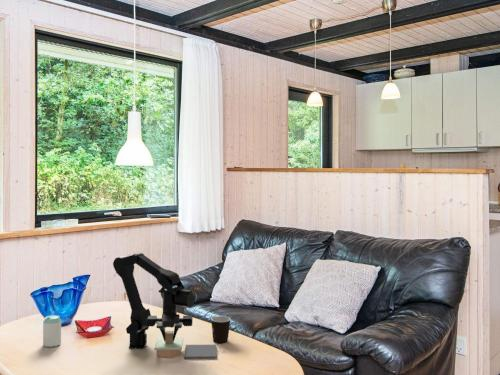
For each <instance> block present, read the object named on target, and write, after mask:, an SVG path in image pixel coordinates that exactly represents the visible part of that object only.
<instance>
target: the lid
mask: <svg viewBox="0 0 500 375" xmlns="http://www.w3.org/2000/svg"><path fill="white" fill-rule="evenodd" d="M165 332H166V333H165V342H164V338H163V337H160V338H159V337H158V338H156V341H155V343H154V346H153V347H154V349H153V350H154V351H156V350H181V351H182V350H183V344H184V338H183V337H175V339H174V342H173V334H174V330H165Z"/></svg>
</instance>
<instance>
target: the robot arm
mask: <svg viewBox="0 0 500 375" xmlns="http://www.w3.org/2000/svg"><path fill="white" fill-rule="evenodd" d="M135 264H136V265H137V266H139V267H140V268H141V269H142V270H144V271H146V272H147V273H148V274H150V275H151V276H153V277H154V278H155V279H156V281H157V284H159V285H160V286H161V288H160V289H159V290H158V293H161V294H162V313H161V318H160V317H158V315H151V311H150V308H145V307H144V305H143V302H142V299H141V296H140V292H139V289H138V286H137V283H136V280H135V276H134V271H135ZM112 266H113V268H114V270H115V273H116V275H118V276H119V277H120V278H121V281H122V283H123V287H124V289H125V293H126V296H127V300H128V303H129V306H130V309H131V313H130V324H129V325H128V326H127V327H126V328H125V330H126V334H128V335H129V344H128V345H129V346H128V349H145V347H146V345H147V343H148V340H147V339H148V334H147V333H146V331H147V330H149V328H150V327H156V329H159V331H160V332H161V335H162V338H164V342H165V333H166V328H170V329H171V328H173V342H174V339H175V338H176V336H177V333H178V331H179V329H182V328H183V326H184V327H192V326H193V319H194V318H193V316H192V315H183V316H182V318H180V317H181V316H180V313H179V314H178V307H184V308H189V309H190V308H192V307H193V306H194V304H195V300H196V298H195V295H194V293H193V291H192V290H191V289H185V288H186V287H185V286H184V284H183V281H182V280H181V279H180V275H179V274H178V273H177V272H175V271H172V270H170V269H166V268H163V267H162V266H160V265H159V264H158V263H156V262H154V261H153V260H152V259H150V258H149V257H147V256H146V255H145V254H144V253H142V252H137V253H134V254H132V255H129V254H128V255H122V256H118V257H116V258H114V260H113V263H112ZM157 317H158V318H157Z"/></svg>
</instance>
